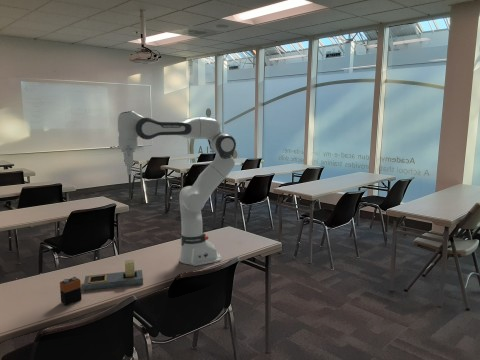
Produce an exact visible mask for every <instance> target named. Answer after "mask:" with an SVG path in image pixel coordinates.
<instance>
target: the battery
mask: <svg viewBox="0 0 480 360" xmlns="http://www.w3.org/2000/svg"><path fill="white" fill-rule="evenodd" d="M81 282H82V281H81V279H80V278H78V277H77V276H73V277H71V278H65V279H62V281H59V289H60V290H59V291H60V292H59V293H60V302H61V304H63V305H64V306H66V305H67V306H69V305H71V304H75V303H77V302H80V301H82V298H83V297H82V286H81V285H82V284H81Z"/></svg>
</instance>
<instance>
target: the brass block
mask: <svg viewBox="0 0 480 360" xmlns="http://www.w3.org/2000/svg"><path fill="white" fill-rule="evenodd" d="M124 268H125V271H124V272H125V276H126V278H134V277H135V271H136V270H135V259H127V260H125V261H124Z"/></svg>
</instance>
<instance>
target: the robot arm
mask: <svg viewBox="0 0 480 360" xmlns="http://www.w3.org/2000/svg"><path fill="white" fill-rule="evenodd" d="M117 132H118V139H117V140H118V149H120V150H121V153H123V159H124V165H125V167H126V171H127V175H128V176H129V175H132V167H133V166H134V153H135V152H136V150H137V149H138V148H139V147H138V138H139V137H140V139H143V140H147V141H148V140H152V139H155V138H156V137H158V136H159V137H160V136H180V137H183V138H186V139H193V140H207V142H208V146H209V148H210V150H211V151H212V152H214V153H215V157H214V158H213V160H212V161H211V162H210V163H209V164H208V165H207V166H206V167H205V168H204V169H203V171H201V172H200V174H198V177H197V178H196V180H195V181H194V183H193V184H192V185H187V186H184V187H182V188H181V190H180V192H179V195H178V196H179V199H178V200H179V210H180V222H181V225H180V226H181V234H180V245H181V247H180V248H181V249H180V254H179V259H178V260H179V262H180V263H182V264H186V265H190V266H193V267H195V266H201V265H206V264H208V265H209V264H212V263H216V262H217V263H218V262H221V261H222V256H221V254H220V253H219V252H218V251H217V248H216V246H215V245H214V244H213V243H212V242H210V241H208V239H209V235H207V234H206V233H205V232H203V217H202V210H203V208H204V207H205V205H206V203H207V201H208V200H209V198H210V197H211V195H212V194H213V192H214V191H215V190H216V189H217V187H218V186H219V185H221V183H222V182H223V181H224V180H225V179H226V178H227V177H228V175H229V174H230V173H231V171H232V170H233V168H234V167H235V164H236V163H235V159H234V157H233V156H234V153H235V151H236V148H237V142H236V139H235V138H234V136H232V135H231V134H228V133H223V132H221V125H220V122H219V121H218V120H217V119H215V118H211V117H200V116H196V117H195V116H194V117H187V118H184V119H181V120H178V121H158V120H155V119H154V118H151V117H144V116H142V115H140V114H138V113H137V112H136V111H133V110H130V111H129V110H128V111H123V112H121V113H120V114H119V115H118V117H117Z"/></svg>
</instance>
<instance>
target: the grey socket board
mask: <svg viewBox="0 0 480 360" xmlns="http://www.w3.org/2000/svg"><path fill="white" fill-rule="evenodd" d="M134 271H135V277H134V278H126V276H125V271H120V272H119V271H118V272H111V273H99V274H93V275H85V277H84V281H83V292H84V293H85V292H92V291H100V290H102V291H103V290H108V289H110V290H111V289H117V288H124V287H133V286H141V285H144V276H143V269H138V270H134Z"/></svg>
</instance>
